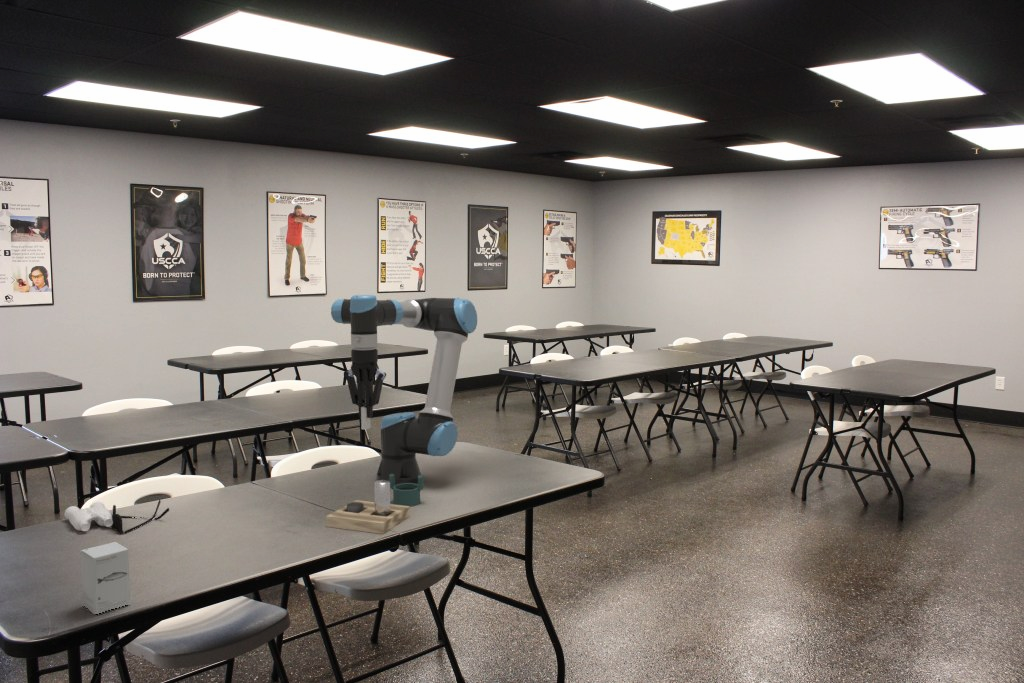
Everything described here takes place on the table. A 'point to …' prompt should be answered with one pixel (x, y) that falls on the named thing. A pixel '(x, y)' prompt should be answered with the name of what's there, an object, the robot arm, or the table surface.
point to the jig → (366, 517)
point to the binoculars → (89, 516)
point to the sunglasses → (118, 519)
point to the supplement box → (105, 577)
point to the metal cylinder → (382, 498)
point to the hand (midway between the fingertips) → (366, 428)
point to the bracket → (406, 491)
